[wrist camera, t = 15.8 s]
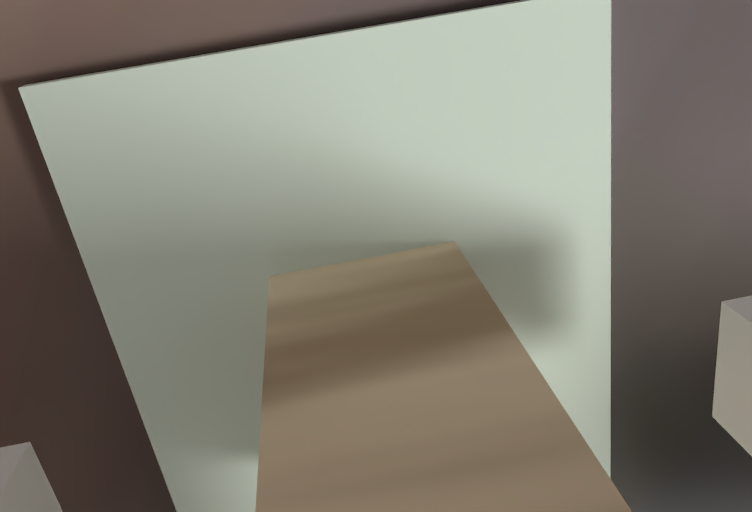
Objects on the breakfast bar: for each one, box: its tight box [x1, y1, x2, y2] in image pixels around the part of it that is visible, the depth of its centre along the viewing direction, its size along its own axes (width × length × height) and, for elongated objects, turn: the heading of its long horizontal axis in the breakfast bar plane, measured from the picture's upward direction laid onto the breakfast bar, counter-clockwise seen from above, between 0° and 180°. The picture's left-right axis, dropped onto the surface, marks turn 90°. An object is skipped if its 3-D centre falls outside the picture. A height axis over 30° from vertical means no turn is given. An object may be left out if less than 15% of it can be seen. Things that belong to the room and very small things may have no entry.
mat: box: [18, 0, 611, 512], centre depth 15 cm, size 14×11×1 cm
